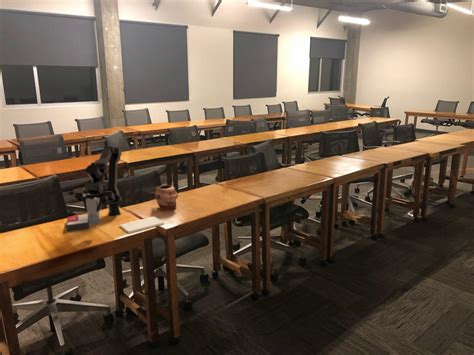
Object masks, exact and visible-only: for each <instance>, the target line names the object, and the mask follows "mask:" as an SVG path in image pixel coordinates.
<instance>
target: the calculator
mask: <svg viewBox="0 0 474 355" xmlns="http://www.w3.org/2000/svg"><path fill="white" fill-rule="evenodd" d="M65 227H66V231H67V233H68V232H75V231H81V230H88V229H90V225H89V224H88V216H87V213H86V214H80V215H72V216H68V217H67V219H66V226H65Z"/></svg>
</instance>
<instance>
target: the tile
mask: <svg viewBox="0 0 474 355" xmlns="http://www.w3.org/2000/svg"><path fill="white" fill-rule="evenodd" d="M162 225H165V222H164V221H163V220H161V219H159V218H158V217H156V216H150V217H146V218H142V219H138V220H133V221H130V222H126V223H122V224H121V223H120V224H119V227H120V228H121V229H122V230H124V231H125V232H126V233H128V234H133V233H135V232H138V231H139V232H140V231H143V230H147V229H150V228H154V227H155V228H156V227H159V226H162Z"/></svg>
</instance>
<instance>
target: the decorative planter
mask: <svg viewBox="0 0 474 355" xmlns="http://www.w3.org/2000/svg"><path fill="white" fill-rule="evenodd" d="M154 191H155V193H154V199H155V200H156V203H157V205H158V208H159V209H160V210H162V211H173V210H176V208H177V199H178V198H179V195H178V192H177V191H176V189H175V187H174V185H171V184H163V185H159V186H156V187H155V190H154Z"/></svg>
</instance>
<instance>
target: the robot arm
mask: <svg viewBox="0 0 474 355" xmlns="http://www.w3.org/2000/svg"><path fill="white" fill-rule="evenodd" d="M121 156H122V150H121V149H120V148H119V147H115V146H112V145H108V146H107V145H106V146H103V150H102V152H101V155H100V156H99V158H98V159H96V160H95V161H93V162H91V163H90V164H89V165H87V166H86V168H85V172H86V174H87V175H88V177H89V178H90V179H91V182H90V183H88V182H87V183H85V191H87V193H84V191H75V192H74V194H73V198H75V199H76V201H77V202H83V206H84V211H85V212H86V213H87V207H86V198H88V197H97V199H99V200H98V209H97V211H98V212H99V213H100V211H101V210H102V208H103V207H104V206H107V205H108V216H109V217H111V216H117V215H118V216H119V215H122V214H121V210H120V205H121V204H123V202H122V200H123V198H122V197H121V195H120V192H119V190H118V188H117V185H118V184H117V180H118V163H119V162H120V160H121ZM107 173H108V179H107V180H108V182H107V188H106V189H104V187H103V186H104V181H105V175H104V174H107ZM103 190H104V192H103ZM102 192H103V193H102Z"/></svg>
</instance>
